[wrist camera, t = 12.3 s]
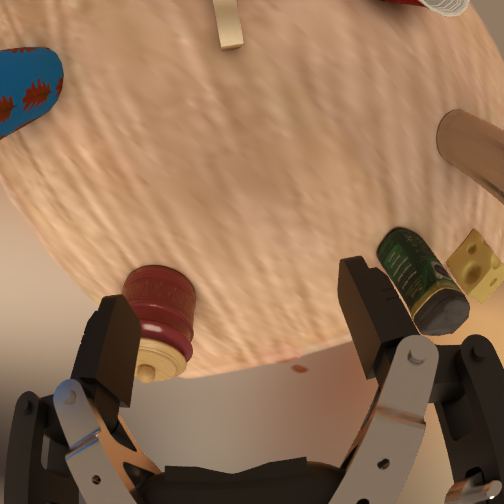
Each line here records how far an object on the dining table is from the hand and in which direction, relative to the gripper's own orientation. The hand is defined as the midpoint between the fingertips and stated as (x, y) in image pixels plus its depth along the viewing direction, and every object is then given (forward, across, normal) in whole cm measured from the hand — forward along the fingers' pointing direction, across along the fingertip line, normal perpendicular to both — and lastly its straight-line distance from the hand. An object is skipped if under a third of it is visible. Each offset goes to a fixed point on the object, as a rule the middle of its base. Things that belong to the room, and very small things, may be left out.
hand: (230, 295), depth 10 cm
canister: (+28, +17, +26) cm, 42 cm away
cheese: (+28, -47, +31) cm, 63 cm away
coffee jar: (+28, -26, +25) cm, 46 cm away
